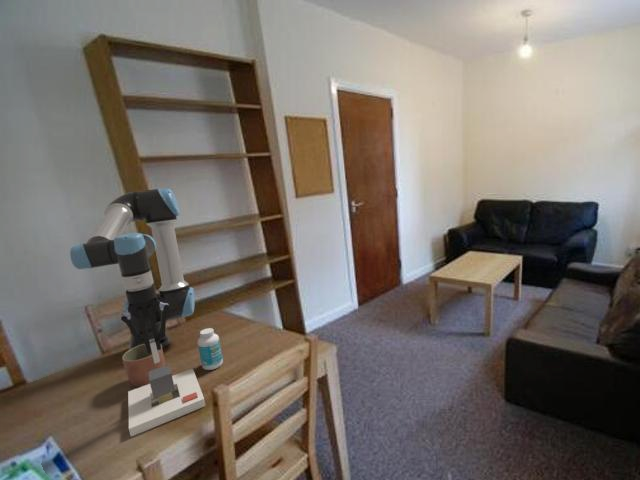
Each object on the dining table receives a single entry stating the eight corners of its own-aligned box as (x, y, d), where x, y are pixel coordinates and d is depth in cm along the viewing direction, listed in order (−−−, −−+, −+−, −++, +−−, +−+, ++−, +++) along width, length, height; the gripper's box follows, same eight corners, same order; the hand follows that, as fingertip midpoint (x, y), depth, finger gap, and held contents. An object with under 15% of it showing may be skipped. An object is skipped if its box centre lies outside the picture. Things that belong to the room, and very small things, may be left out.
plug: (155, 400, 107) (148, 371, 105) (175, 392, 110) (169, 364, 108) (156, 410, 102) (149, 380, 100) (177, 402, 105) (171, 373, 103)
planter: (156, 365, 129) (150, 339, 126) (174, 374, 121) (168, 346, 119) (122, 384, 119) (115, 356, 117) (140, 395, 112) (132, 365, 109)
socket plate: (130, 398, 110) (127, 390, 110) (194, 374, 120) (192, 367, 119) (130, 436, 93) (128, 427, 92) (205, 405, 102) (203, 397, 102)
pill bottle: (217, 371, 120) (210, 336, 117) (198, 370, 122) (191, 336, 119) (227, 359, 127) (220, 326, 125) (209, 359, 129) (202, 326, 126)
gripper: (113, 296, 92) (132, 374, 97) (165, 284, 98) (181, 358, 103) (114, 289, 99) (132, 363, 104) (162, 278, 105) (178, 348, 110)
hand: (156, 360), depth 103 cm, fingers closed
